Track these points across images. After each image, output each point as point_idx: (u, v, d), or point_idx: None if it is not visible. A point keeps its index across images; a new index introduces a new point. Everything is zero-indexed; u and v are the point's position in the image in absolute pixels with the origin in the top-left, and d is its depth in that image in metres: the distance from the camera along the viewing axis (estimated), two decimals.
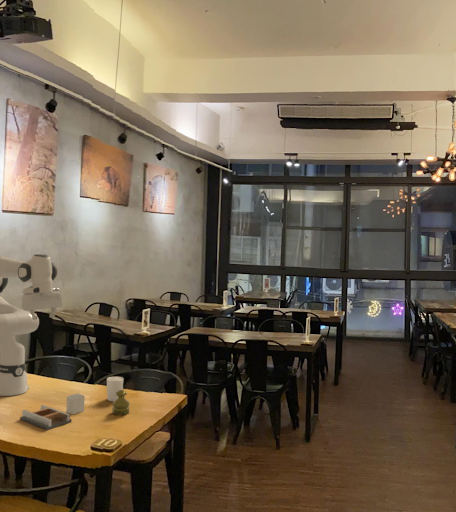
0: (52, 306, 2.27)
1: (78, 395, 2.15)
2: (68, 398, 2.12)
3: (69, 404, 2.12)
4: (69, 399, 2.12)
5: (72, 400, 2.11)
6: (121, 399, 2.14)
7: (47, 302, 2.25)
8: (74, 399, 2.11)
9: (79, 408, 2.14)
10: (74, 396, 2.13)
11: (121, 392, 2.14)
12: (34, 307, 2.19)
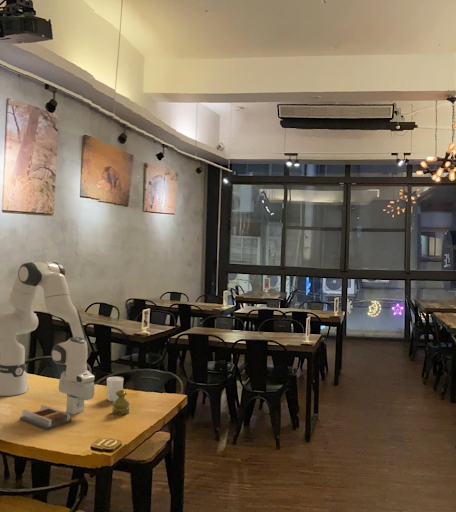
0: None
1: None
2: (68, 398, 2.12)
3: (69, 404, 2.12)
4: (69, 399, 2.12)
5: (72, 400, 2.11)
6: (121, 399, 2.14)
7: None
8: (74, 399, 2.11)
9: (79, 408, 2.14)
10: (74, 396, 2.13)
11: (121, 392, 2.14)
12: None
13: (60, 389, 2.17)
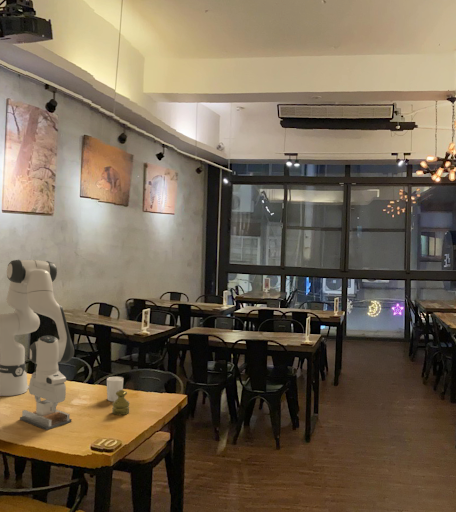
0: None
1: (49, 401, 2.02)
2: (38, 404, 2.00)
3: (39, 410, 2.00)
4: (39, 405, 1.99)
5: (42, 406, 1.98)
6: (121, 399, 2.14)
7: None
8: (44, 405, 1.99)
9: None
10: (44, 402, 2.01)
11: (121, 392, 2.14)
12: None
13: (30, 391, 2.05)
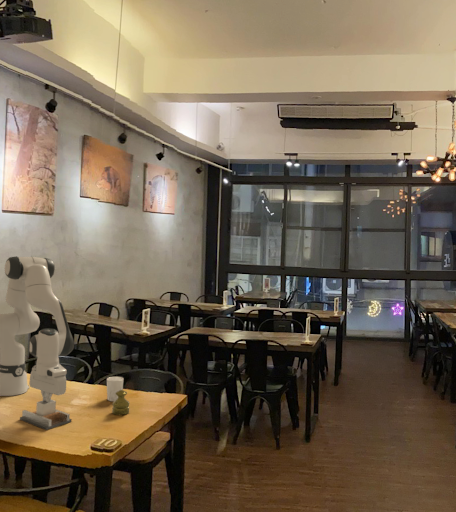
0: None
1: None
2: (38, 404, 2.00)
3: (39, 410, 2.00)
4: (39, 405, 1.99)
5: (42, 406, 1.98)
6: (121, 399, 2.14)
7: None
8: (44, 405, 1.98)
9: None
10: (44, 402, 2.01)
11: (121, 392, 2.14)
12: None
13: (31, 384, 2.05)
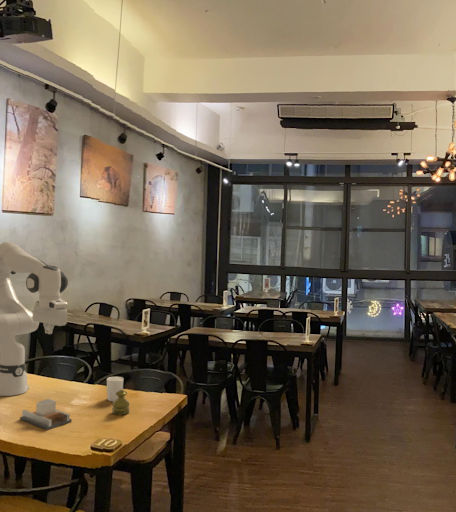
0: None
1: (49, 401, 2.02)
2: (38, 404, 2.00)
3: (39, 410, 2.00)
4: (39, 405, 1.99)
5: (42, 406, 1.98)
6: (121, 399, 2.14)
7: None
8: (44, 405, 1.99)
9: None
10: (44, 402, 2.01)
11: (121, 392, 2.14)
12: None
13: (34, 318, 2.17)
